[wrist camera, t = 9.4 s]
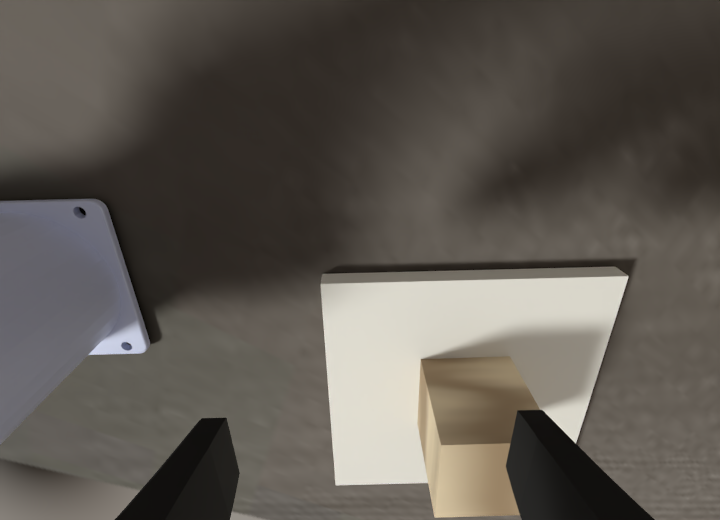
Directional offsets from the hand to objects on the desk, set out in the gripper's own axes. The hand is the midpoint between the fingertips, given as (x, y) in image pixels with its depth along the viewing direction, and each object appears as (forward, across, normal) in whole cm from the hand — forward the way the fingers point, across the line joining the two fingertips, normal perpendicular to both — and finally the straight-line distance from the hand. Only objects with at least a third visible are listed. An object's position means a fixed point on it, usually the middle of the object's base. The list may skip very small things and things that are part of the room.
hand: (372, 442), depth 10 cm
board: (+9, -5, +7) cm, 13 cm away
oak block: (+8, -5, +7) cm, 12 cm away
